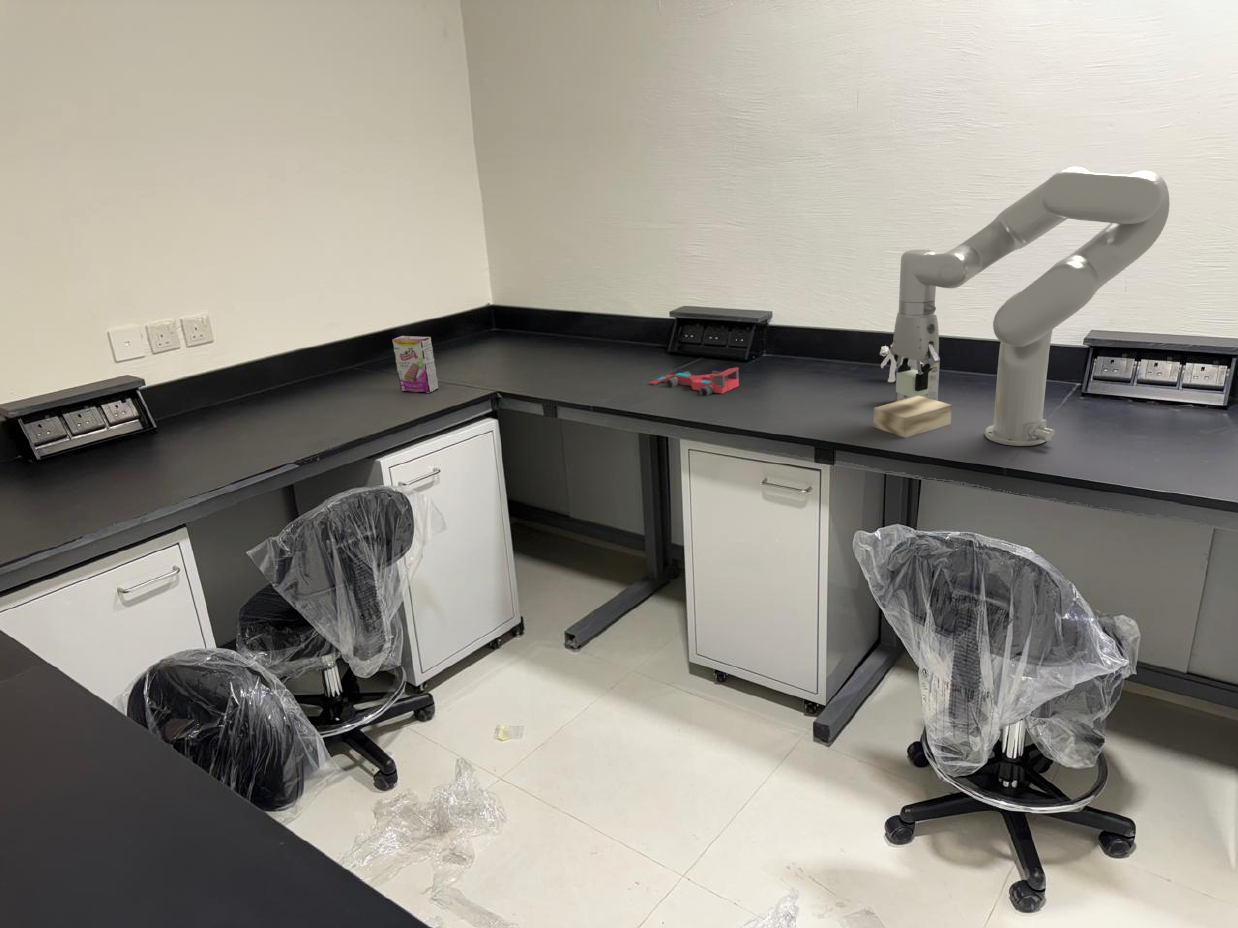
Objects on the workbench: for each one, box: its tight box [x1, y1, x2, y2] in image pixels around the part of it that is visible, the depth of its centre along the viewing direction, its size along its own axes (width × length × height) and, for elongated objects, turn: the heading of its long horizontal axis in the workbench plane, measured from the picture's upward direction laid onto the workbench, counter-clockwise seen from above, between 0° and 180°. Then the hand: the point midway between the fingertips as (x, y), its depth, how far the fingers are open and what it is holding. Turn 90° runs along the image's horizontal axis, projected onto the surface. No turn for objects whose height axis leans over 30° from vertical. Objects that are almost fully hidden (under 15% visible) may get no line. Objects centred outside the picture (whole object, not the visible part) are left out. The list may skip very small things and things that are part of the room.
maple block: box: [872, 396, 952, 438], centre depth 202 cm, size 10×14×5 cm
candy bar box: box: [391, 335, 440, 392], centre depth 263 cm, size 11×5×16 cm, turn 65°
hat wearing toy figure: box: [879, 344, 897, 383], centre depth 234 cm, size 9×4×12 cm, turn 54°
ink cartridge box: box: [894, 354, 941, 402], centre depth 215 cm, size 10×6×14 cm, turn 78°
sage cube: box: [895, 369, 930, 397], centre depth 199 cm, size 5×5×4 cm
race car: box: [648, 366, 740, 396], centre depth 247 cm, size 14×6×25 cm
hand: (912, 386), depth 199 cm, fingers closed on sage cube, 5 cm apart
